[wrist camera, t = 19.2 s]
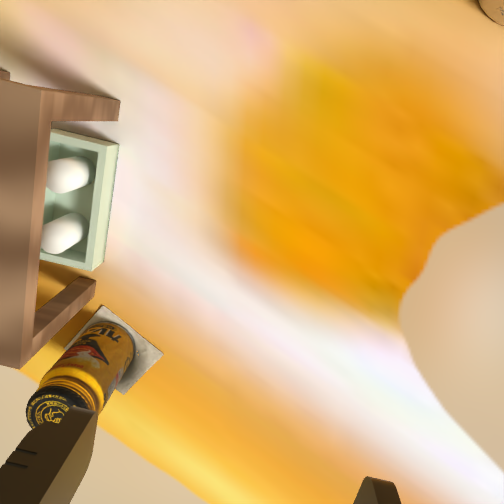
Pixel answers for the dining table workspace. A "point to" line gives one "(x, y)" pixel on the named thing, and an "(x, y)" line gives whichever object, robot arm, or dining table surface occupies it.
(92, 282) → the brown wooden side table
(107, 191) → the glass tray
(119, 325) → the condiment
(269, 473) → the dining table surface
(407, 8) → the dining table surface
